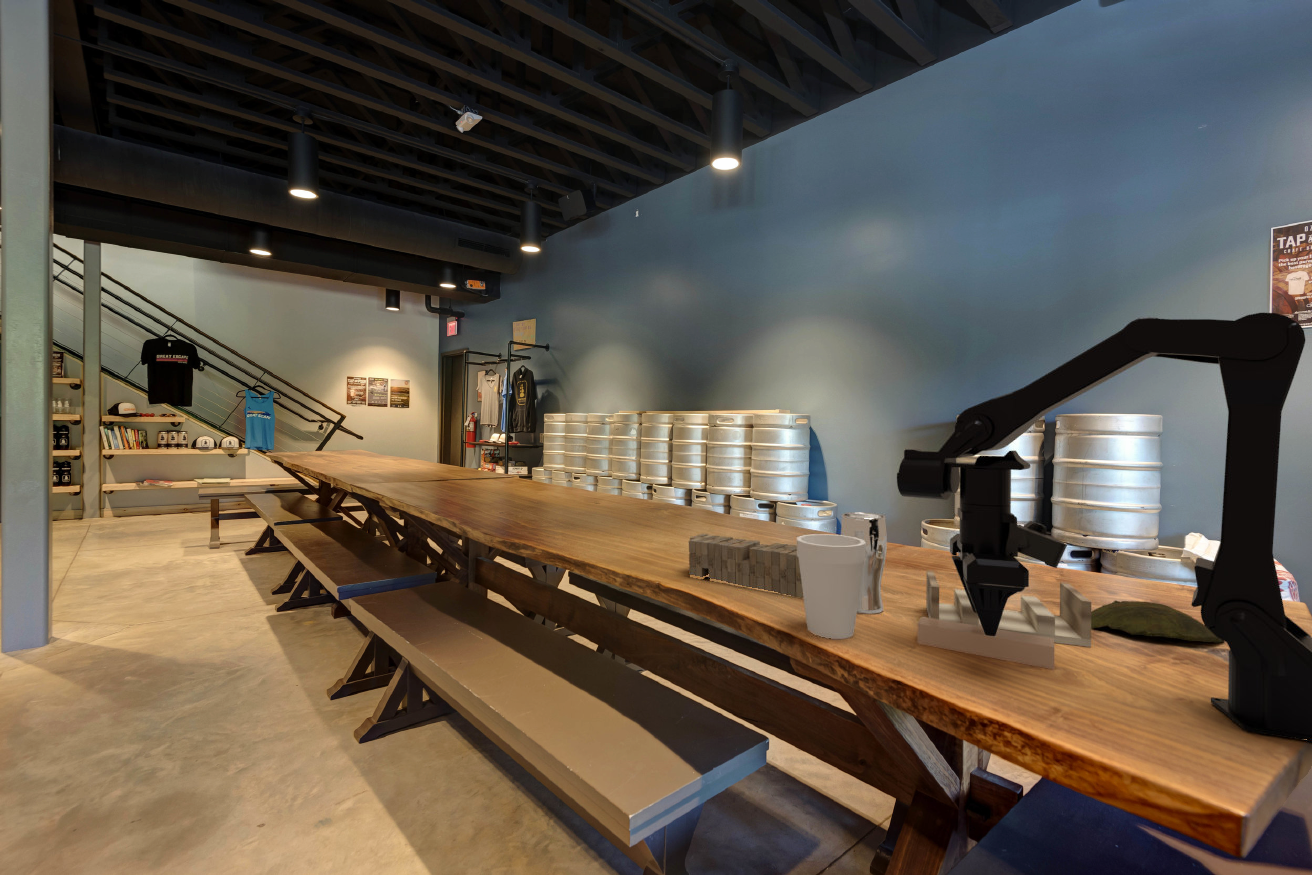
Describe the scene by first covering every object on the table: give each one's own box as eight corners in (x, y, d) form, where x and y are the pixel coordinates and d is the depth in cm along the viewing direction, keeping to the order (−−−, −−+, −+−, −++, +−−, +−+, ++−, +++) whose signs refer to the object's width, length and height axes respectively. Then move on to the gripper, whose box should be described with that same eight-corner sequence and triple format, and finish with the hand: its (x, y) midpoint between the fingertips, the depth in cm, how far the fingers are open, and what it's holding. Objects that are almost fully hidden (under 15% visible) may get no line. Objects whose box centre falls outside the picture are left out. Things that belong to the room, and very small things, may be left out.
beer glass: (836, 610, 89) (837, 516, 88) (844, 599, 95) (844, 511, 95) (883, 617, 85) (884, 519, 85) (888, 605, 92) (888, 514, 91)
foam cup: (813, 615, 86) (813, 531, 86) (874, 629, 80) (874, 539, 80) (785, 632, 79) (785, 541, 79) (850, 648, 73) (850, 549, 73)
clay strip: (1052, 662, 70) (1053, 638, 70) (1054, 672, 67) (1054, 647, 67) (921, 637, 78) (921, 616, 78) (917, 645, 75) (917, 623, 75)
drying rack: (1090, 646, 74) (1091, 601, 74) (931, 627, 81) (931, 586, 81) (1067, 623, 83) (1068, 582, 83) (926, 607, 90) (926, 570, 90)
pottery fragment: (1190, 659, 71) (1190, 626, 71) (1067, 625, 83) (1067, 597, 83) (1235, 642, 77) (1235, 611, 77) (1114, 612, 89) (1114, 586, 89)
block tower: (682, 582, 110) (829, 605, 92) (681, 539, 110) (827, 554, 92) (704, 573, 116) (844, 593, 98) (703, 533, 116) (843, 546, 98)
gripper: (1084, 517, 60) (1083, 660, 61) (1039, 498, 78) (1038, 609, 78) (967, 511, 65) (966, 645, 65) (949, 494, 82) (949, 600, 82)
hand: (983, 623), depth 72 cm, fingers open, 9 cm apart
